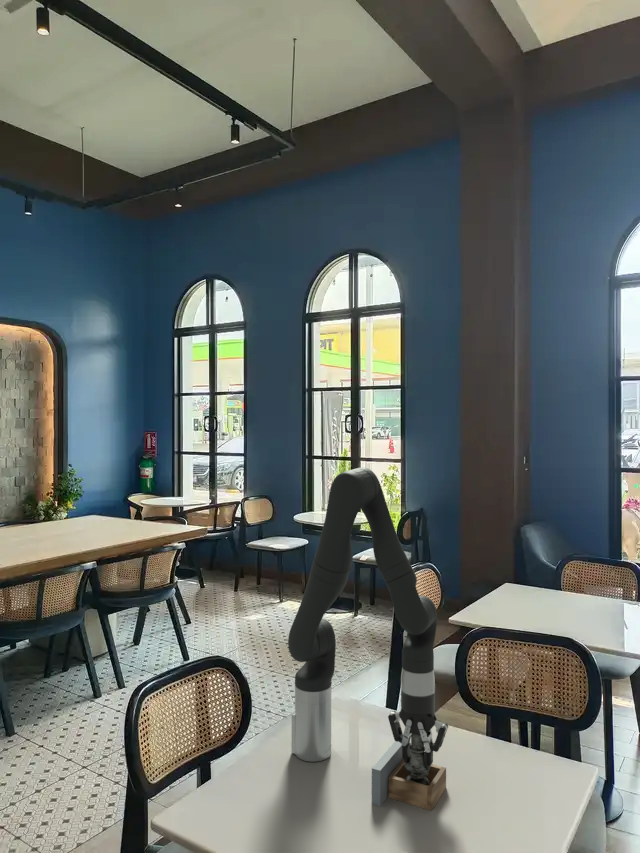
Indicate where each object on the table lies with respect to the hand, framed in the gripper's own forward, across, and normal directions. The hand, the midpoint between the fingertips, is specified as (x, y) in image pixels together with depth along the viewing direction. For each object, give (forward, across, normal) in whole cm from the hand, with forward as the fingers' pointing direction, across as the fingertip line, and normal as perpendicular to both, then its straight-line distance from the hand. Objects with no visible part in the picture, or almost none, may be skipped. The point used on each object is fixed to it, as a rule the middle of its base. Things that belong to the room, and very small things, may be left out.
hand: (417, 763), depth 145 cm
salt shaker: (+4, 0, 0) cm, 4 cm away
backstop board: (+7, -6, 0) cm, 9 cm away
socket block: (+7, 0, 0) cm, 7 cm away
